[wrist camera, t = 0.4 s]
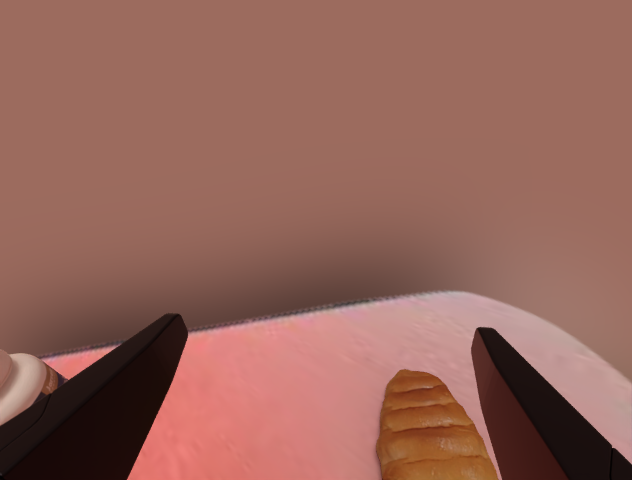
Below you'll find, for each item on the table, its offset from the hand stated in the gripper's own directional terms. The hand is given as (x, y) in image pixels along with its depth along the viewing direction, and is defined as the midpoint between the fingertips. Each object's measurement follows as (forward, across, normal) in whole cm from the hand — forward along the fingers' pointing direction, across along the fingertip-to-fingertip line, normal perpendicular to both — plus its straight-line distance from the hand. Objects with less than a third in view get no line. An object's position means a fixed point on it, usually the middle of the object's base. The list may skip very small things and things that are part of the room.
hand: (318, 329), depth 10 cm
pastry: (+4, -5, +16) cm, 18 cm away
